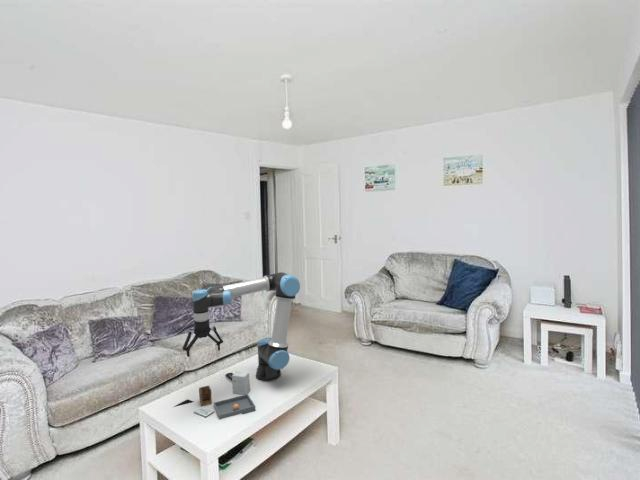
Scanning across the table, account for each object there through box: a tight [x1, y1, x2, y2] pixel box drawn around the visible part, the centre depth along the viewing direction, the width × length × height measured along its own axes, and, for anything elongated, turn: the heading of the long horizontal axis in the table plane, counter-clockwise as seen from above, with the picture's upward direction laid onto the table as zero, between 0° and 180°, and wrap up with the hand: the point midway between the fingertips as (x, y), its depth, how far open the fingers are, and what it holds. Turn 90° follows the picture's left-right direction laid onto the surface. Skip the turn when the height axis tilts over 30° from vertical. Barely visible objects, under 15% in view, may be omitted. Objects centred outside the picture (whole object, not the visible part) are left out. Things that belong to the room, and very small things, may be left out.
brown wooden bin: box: [198, 385, 213, 407], centre depth 192 cm, size 5×6×8 cm
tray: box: [213, 393, 257, 420], centre depth 186 cm, size 18×14×2 cm
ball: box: [233, 404, 239, 410], centre depth 184 cm, size 3×3×3 cm
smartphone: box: [173, 399, 195, 408], centre depth 188 cm, size 8×17×1 cm, turn 149°
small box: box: [231, 371, 251, 396], centre depth 204 cm, size 8×6×10 cm
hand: (204, 359), depth 191 cm, fingers open, 13 cm apart
